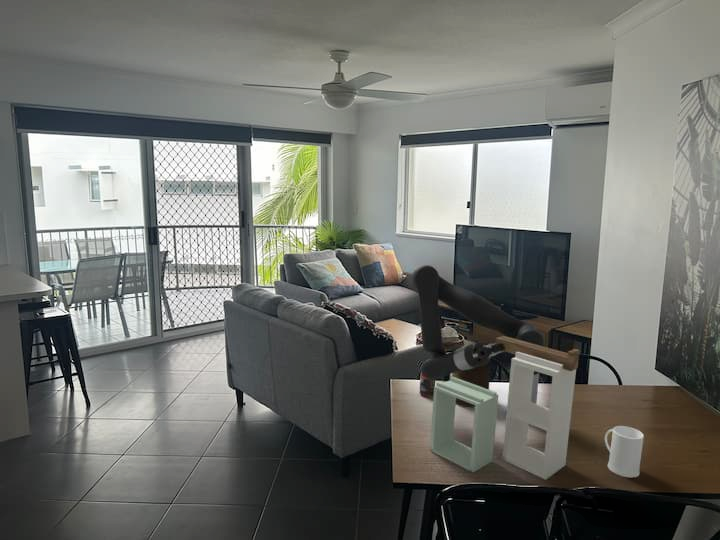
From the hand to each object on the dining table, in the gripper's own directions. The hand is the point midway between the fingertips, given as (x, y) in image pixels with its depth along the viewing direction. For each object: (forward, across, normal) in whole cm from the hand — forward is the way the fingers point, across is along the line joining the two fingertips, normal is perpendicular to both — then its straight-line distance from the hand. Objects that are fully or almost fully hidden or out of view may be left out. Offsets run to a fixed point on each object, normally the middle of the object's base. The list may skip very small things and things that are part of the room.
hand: (511, 343), depth 158 cm
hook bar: (+6, 0, +6) cm, 8 cm away
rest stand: (-22, -14, +27) cm, 38 cm away
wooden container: (-43, +23, +15) cm, 51 cm away
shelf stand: (-8, 0, +35) cm, 36 cm away
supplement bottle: (-54, +14, +9) cm, 56 cm away
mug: (+8, +18, +44) cm, 49 cm away
